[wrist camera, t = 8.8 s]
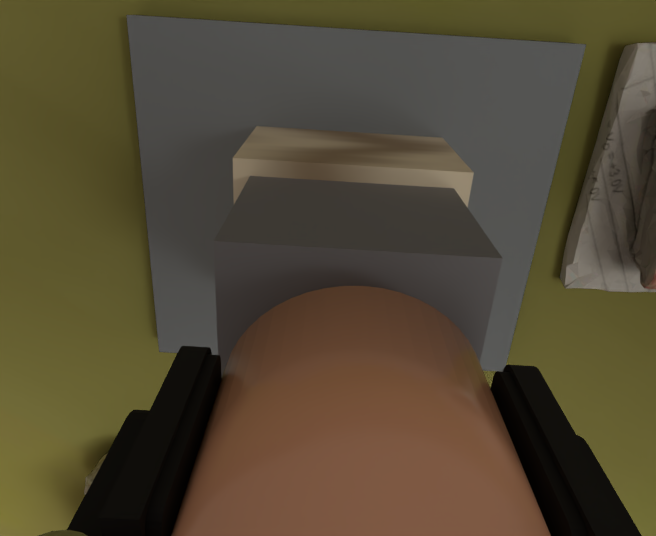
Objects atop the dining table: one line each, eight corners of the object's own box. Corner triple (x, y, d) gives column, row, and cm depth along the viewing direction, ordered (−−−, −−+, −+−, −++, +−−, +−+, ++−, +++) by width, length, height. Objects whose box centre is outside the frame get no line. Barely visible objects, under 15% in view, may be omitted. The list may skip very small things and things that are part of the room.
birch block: (442, 137, 20) (473, 172, 15) (417, 300, 23) (438, 369, 18) (256, 125, 20) (232, 157, 15) (256, 290, 23) (236, 358, 18)
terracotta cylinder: (508, 294, 10) (716, 631, 4) (459, 500, 12) (555, 881, 7) (218, 277, 10) (70, 594, 4) (225, 487, 12) (134, 860, 7)
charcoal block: (453, 188, 15) (502, 258, 11) (425, 356, 18) (455, 470, 13) (250, 175, 15) (213, 241, 11) (251, 347, 18) (222, 457, 13)
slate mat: (574, 43, 19) (586, 44, 18) (498, 358, 25) (504, 371, 24) (136, 15, 19) (126, 14, 18) (165, 339, 25) (159, 351, 24)
